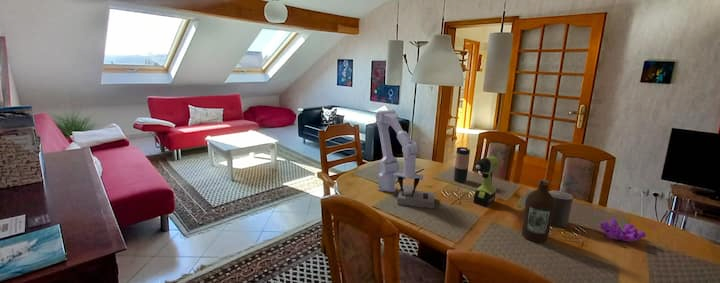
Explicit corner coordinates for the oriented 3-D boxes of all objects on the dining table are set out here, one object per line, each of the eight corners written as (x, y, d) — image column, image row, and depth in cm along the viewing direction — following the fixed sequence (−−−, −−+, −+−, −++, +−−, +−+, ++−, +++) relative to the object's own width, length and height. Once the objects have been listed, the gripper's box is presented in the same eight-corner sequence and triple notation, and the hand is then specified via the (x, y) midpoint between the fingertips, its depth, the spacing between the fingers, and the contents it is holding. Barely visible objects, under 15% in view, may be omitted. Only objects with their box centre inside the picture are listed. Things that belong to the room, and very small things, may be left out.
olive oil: (520, 227, 140) (529, 174, 133) (548, 234, 135) (559, 179, 128) (519, 239, 131) (528, 182, 124) (549, 246, 126) (560, 188, 119)
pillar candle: (555, 229, 139) (561, 197, 135) (537, 218, 148) (543, 188, 144) (572, 226, 142) (579, 195, 138) (554, 216, 151) (560, 186, 147)
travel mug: (452, 181, 191) (455, 149, 185) (454, 177, 197) (458, 146, 192) (465, 184, 187) (469, 151, 182) (467, 179, 194) (471, 148, 188)
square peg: (403, 201, 163) (403, 186, 161) (404, 197, 167) (404, 183, 165) (410, 202, 162) (411, 187, 160) (411, 198, 166) (412, 184, 164)
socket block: (397, 204, 160) (397, 197, 159) (399, 194, 171) (400, 188, 170) (433, 208, 156) (434, 202, 155) (434, 198, 167) (434, 192, 166)
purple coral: (596, 238, 139) (599, 217, 141) (641, 250, 131) (643, 227, 133) (600, 233, 130) (603, 211, 133) (648, 245, 122) (651, 221, 124)
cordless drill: (477, 214, 151) (484, 164, 144) (463, 209, 155) (469, 161, 149) (496, 199, 167) (502, 154, 161) (483, 195, 172) (488, 151, 165)
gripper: (394, 167, 157) (392, 192, 161) (423, 170, 154) (421, 196, 158) (395, 163, 164) (394, 187, 167) (424, 165, 161) (422, 190, 164)
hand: (407, 191), depth 163 cm, fingers open, 5 cm apart
